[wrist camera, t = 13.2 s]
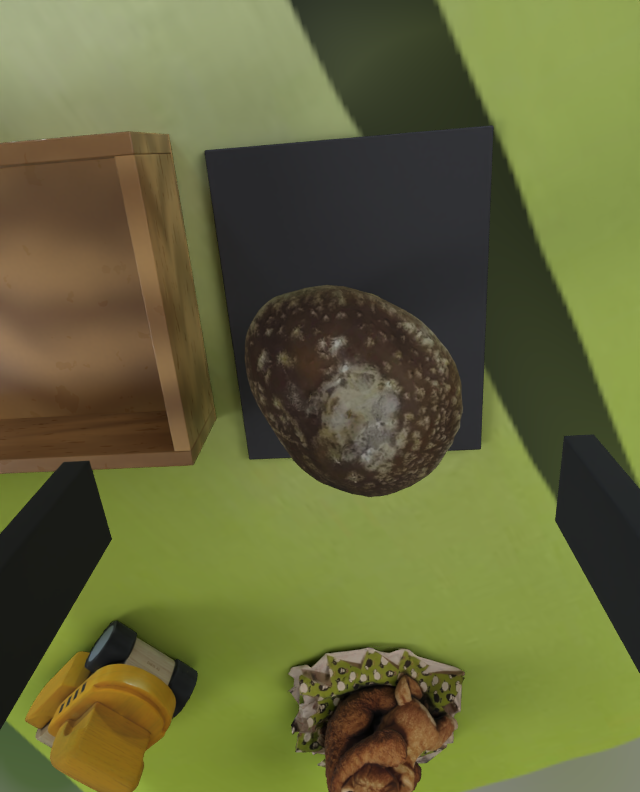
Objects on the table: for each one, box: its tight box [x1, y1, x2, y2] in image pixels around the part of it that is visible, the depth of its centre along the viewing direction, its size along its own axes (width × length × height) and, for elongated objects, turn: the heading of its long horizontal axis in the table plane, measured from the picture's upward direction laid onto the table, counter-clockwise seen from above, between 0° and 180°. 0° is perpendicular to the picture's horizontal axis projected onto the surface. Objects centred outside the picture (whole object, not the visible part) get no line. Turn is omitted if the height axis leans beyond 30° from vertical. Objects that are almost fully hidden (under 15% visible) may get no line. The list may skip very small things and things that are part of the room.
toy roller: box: [25, 621, 198, 792], centre depth 45 cm, size 9×14×10 cm, turn 138°
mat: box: [205, 126, 493, 459], centre depth 36 cm, size 20×16×1 cm
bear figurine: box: [288, 646, 465, 792], centre depth 44 cm, size 14×15×12 cm
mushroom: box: [245, 285, 463, 497], centre depth 28 cm, size 9×9×15 cm
